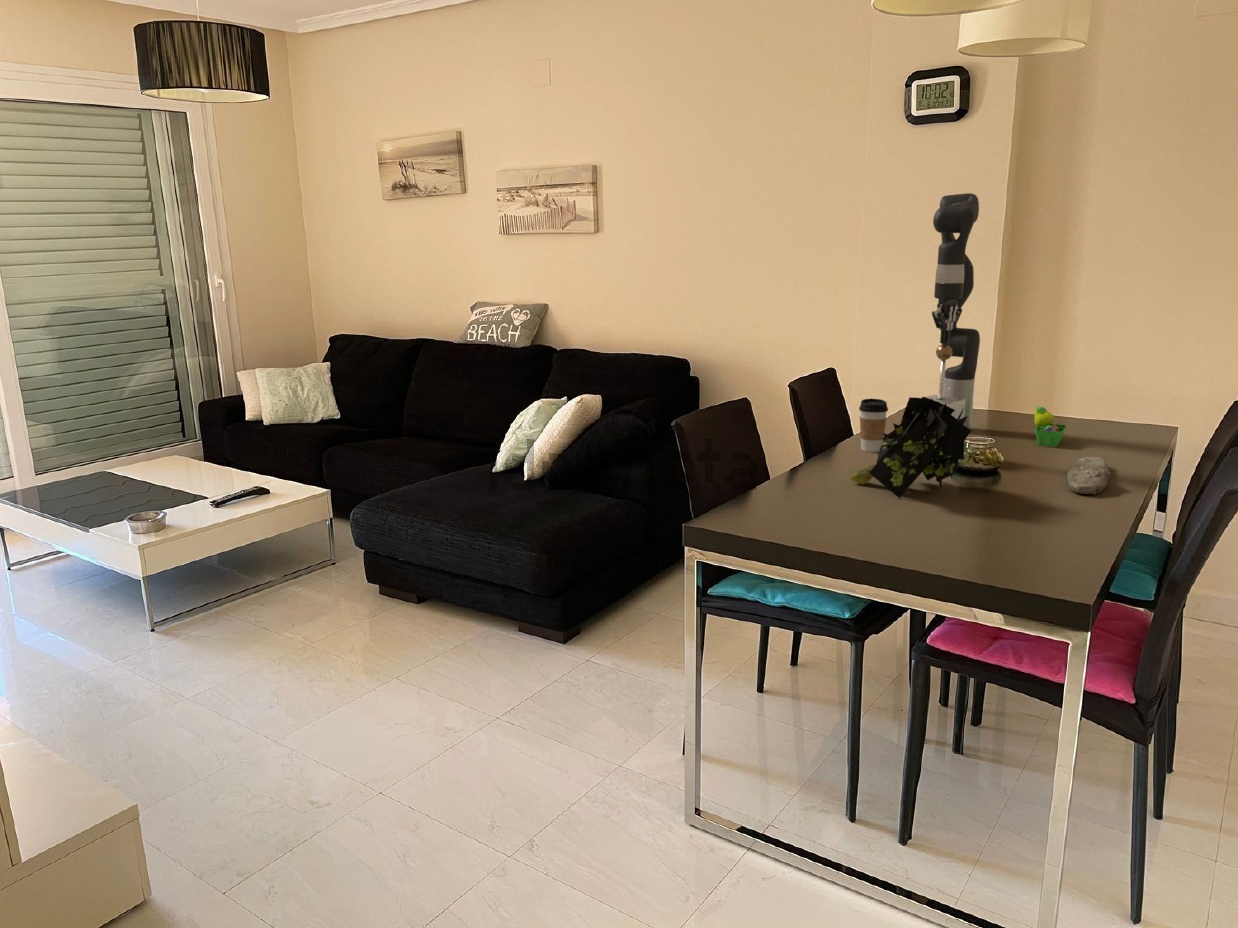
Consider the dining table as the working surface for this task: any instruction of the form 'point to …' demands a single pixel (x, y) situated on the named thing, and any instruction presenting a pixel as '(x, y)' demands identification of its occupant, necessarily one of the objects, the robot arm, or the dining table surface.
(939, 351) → the plunger
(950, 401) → the press
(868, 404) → the coffee cup
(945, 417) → the black leafy clump
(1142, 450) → the dining table surface
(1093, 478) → the elongated rock
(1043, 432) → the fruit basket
